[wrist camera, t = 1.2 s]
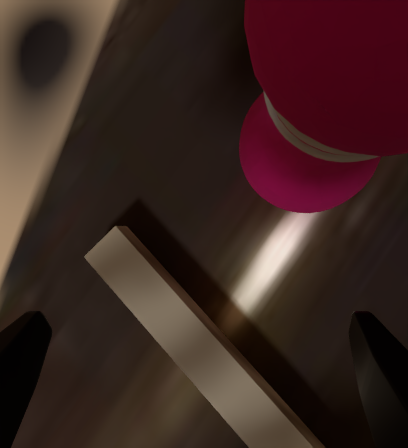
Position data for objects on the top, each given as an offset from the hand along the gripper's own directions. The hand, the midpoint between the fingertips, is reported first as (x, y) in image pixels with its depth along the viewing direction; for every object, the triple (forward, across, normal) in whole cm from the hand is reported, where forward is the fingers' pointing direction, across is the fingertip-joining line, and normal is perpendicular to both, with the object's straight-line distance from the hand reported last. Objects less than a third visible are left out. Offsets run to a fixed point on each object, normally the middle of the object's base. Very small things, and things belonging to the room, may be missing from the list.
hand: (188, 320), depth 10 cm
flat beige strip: (+8, +2, +12) cm, 14 cm away
